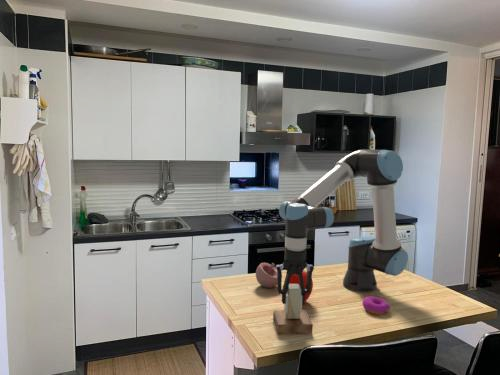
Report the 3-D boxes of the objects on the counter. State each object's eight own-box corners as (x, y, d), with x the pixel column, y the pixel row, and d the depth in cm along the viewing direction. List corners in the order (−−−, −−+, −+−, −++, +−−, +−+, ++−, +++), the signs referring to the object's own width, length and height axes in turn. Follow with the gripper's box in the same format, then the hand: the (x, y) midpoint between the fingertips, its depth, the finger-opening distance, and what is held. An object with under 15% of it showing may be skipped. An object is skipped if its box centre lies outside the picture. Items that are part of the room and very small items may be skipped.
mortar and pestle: (277, 293, 167) (278, 268, 165) (251, 289, 170) (252, 264, 169) (284, 284, 178) (285, 260, 177) (259, 280, 182) (260, 257, 180)
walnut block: (304, 320, 143) (305, 310, 142) (312, 335, 132) (312, 324, 131) (273, 320, 142) (273, 310, 141) (277, 335, 131) (278, 324, 130)
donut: (379, 318, 146) (379, 307, 145) (356, 309, 154) (357, 298, 153) (393, 311, 152) (394, 300, 152) (371, 302, 160) (372, 292, 159)
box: (285, 312, 139) (286, 283, 137) (297, 312, 139) (298, 283, 138) (288, 319, 134) (289, 288, 132) (300, 319, 134) (301, 288, 133)
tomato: (284, 295, 165) (286, 263, 163) (311, 297, 164) (312, 265, 162) (284, 307, 153) (285, 273, 151) (312, 309, 151) (314, 275, 150)
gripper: (316, 245, 138) (313, 306, 141) (269, 245, 136) (267, 307, 139) (322, 251, 131) (319, 316, 133) (272, 251, 129) (270, 317, 132)
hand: (292, 311), depth 136 cm, fingers closed on box, 4 cm apart
